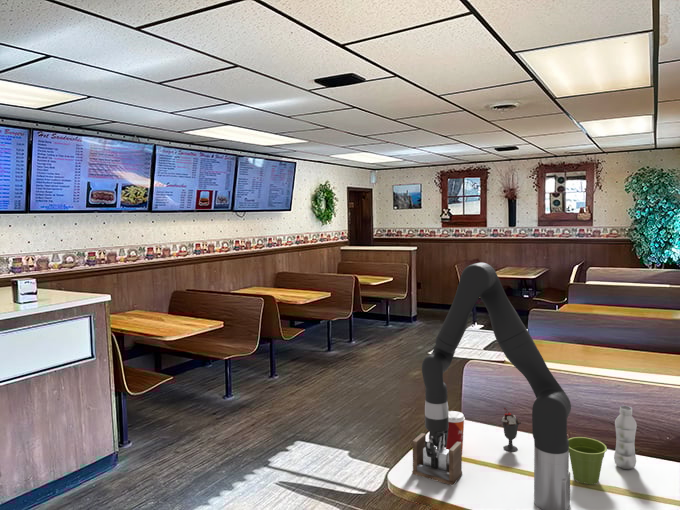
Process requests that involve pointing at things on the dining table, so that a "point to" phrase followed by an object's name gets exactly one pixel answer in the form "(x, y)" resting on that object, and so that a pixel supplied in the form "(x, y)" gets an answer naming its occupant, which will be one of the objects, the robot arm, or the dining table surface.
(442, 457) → the metal block
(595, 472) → the plant pot
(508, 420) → the sundae
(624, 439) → the plastic bottle
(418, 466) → the wooden holder
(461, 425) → the paper cup
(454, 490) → the dining table surface
